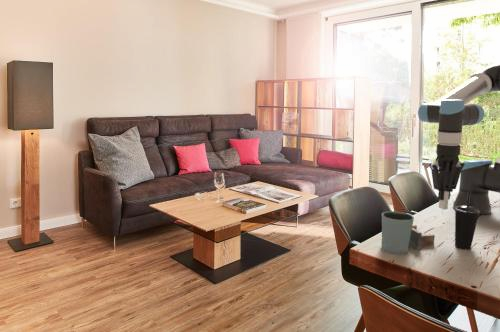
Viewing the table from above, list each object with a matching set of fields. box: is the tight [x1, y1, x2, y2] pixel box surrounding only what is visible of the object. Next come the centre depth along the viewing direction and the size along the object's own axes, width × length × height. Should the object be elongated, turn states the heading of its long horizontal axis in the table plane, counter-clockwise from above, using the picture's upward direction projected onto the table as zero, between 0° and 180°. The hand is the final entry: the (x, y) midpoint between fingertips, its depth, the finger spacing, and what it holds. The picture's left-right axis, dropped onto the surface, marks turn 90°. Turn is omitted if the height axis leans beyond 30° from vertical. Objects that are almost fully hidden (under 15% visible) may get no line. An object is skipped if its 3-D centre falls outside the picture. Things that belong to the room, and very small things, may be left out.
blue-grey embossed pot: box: [381, 210, 415, 255], centre depth 135 cm, size 10×10×12 cm
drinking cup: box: [454, 191, 480, 251], centre depth 136 cm, size 8×8×20 cm
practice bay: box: [409, 224, 436, 251], centre depth 142 cm, size 9×14×6 cm, turn 13°
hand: (443, 208), depth 144 cm, fingers closed
